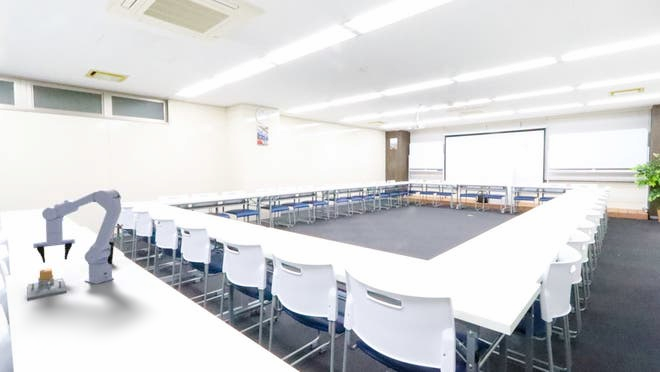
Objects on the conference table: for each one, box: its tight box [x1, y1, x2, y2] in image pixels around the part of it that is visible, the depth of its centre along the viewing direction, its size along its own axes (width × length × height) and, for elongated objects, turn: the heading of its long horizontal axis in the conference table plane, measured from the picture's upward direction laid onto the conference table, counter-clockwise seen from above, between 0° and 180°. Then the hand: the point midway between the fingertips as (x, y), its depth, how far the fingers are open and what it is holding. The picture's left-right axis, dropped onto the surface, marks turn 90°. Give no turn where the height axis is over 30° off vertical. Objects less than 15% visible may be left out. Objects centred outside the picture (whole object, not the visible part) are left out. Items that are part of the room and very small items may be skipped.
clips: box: [31, 280, 61, 289], centre depth 135 cm, size 6×9×2 cm, turn 135°
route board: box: [27, 277, 68, 300], centre depth 135 cm, size 21×12×1 cm, turn 45°
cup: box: [107, 241, 115, 265], centre depth 173 cm, size 8×8×12 cm
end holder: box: [38, 274, 55, 287], centre depth 139 cm, size 7×5×2 cm
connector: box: [39, 268, 53, 280], centre depth 139 cm, size 4×4×6 cm
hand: (55, 260), depth 145 cm, fingers open, 7 cm apart
